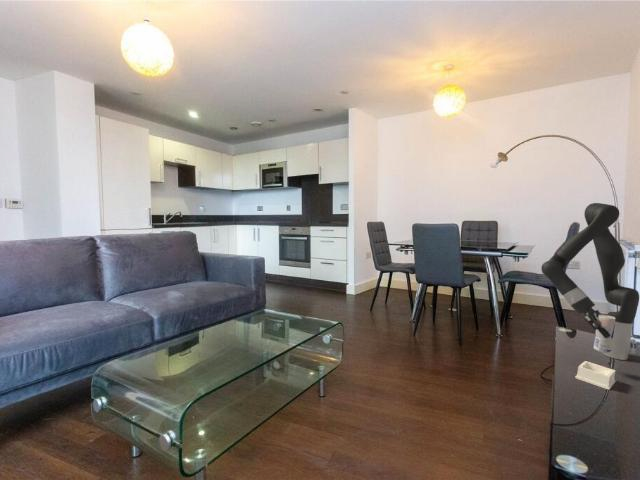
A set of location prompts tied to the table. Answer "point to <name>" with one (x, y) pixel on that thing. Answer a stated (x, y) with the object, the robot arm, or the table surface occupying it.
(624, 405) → the table surface
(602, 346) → the beverage can
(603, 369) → the can holder
